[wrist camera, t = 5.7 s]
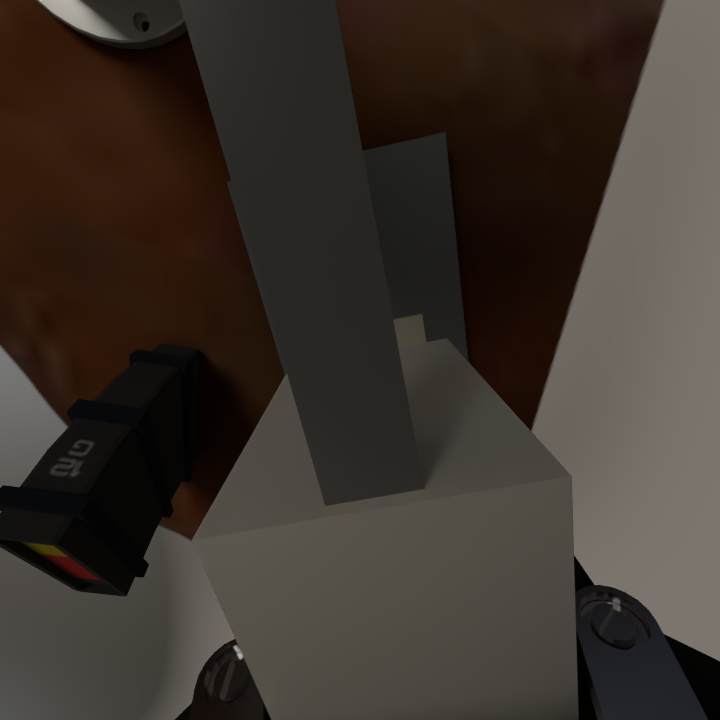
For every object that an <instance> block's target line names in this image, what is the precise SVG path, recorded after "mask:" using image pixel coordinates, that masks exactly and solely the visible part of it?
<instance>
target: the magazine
mask: <svg viewBox="0 0 720 720" xmlns="http://www.w3.org/2000/svg"><path fill="white" fill-rule="evenodd" d="M199 355H200V354H199V351H198V350H196V349H190V348H185V347H179V346H173V345H167V344H160V345H158V346H157V347H156V348H154V349H153V350H151V351H144V350H136V351H135V352H133V353H132V354H130V355H129V360H130V367H129V368H127V369H126V370H125V371H124V372H122V373H121V374H120V375H119V376H117V377H116V378H115V379H114V380H113V381H112V382H111V383H110V384H109V385H108V386H107V387H106V388H105V389H104V390H103V391H102V392H101V393H100V394H99V395H98V396H97V397H96V398H95V399H94V400H93V401H89V400H82V399H78V400H77V401H76V402H75V403H74V404H73V405H72V406H71V407H70V408H69V410H68V411H67V414H68V416H69V418H70V420H71V421H72V424H71V425H70V426H69V427H68V428H67V429H66V431H65V432H64V433H63V434H62V435H61V436H60V437H59V438H58V439H57V440H56V442H54V444H53V445H52V446H51V447H50V448H49V449H48V450H47V452H46V453H45V454H44V455H43V457H42V458H41V460H40V461H39V462H38V464H37V465H36V466H35V468H34V469H33V470H32V472H31V473H30V474H29V475H28V477H27V478H26V480H25V481H24V482H23V484H22V485H21V486H20V487H12V486H2V487H1V488H0V511H2V512H1V513H0V547H1V548H3V549H5V550H6V551H8V552H10V553H12V554H13V555H15V556H17V557H18V558H20V559H22V560H24V561H25V562H27V563H29V564H31V565H32V566H34V567H36V568H38V569H39V570H41V571H43V572H44V573H46V574H48V575H50V576H51V577H53V578H55V579H57V580H58V581H60V582H62V583H63V584H65V585H67V586H69V587H70V588H72V589H74V590H76V591H81V592H89V593H99V594H107V595H117V596H127V594H128V592H129V589H130V587H131V585H132V582H133V580H134V578H135V577H144V575H145V573H146V570H147V568H148V566H149V564H148V563H147V562H146V561H145V560H144V558H143V557H144V555H145V553H146V550H147V548H148V546H149V544H150V541H151V539H152V537H153V534H154V532H155V530H156V528H157V526H158V524H159V522H160V520H161V518H162V517H167V518H170V517H171V515H172V513H173V508H172V504H171V499H172V497H173V496H174V494H175V492H176V490H177V488H178V487H179V485H180V483H181V482H182V481H185V482H189V481H190V480H191V478H192V464H193V463H194V461H195V441H196V419H197V398H198V376H199Z"/></svg>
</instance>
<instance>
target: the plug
mask: <svg viewBox="0 0 720 720" xmlns="http://www.w3.org/2000/svg"><path fill="white" fill-rule="evenodd" d="M179 2H180V5H181V9H182V12H183V16H184V19H185V23H186V26H187V30H188V33H189V36H190V40H191V43H192V47H193V50H194V54H195V57H196V61H197V64H198V68H199V71H200V75H201V78H202V81H203V85H204V88H205V92H206V95H207V99H208V102H209V106H210V109H211V113H212V116H213V119H214V123H215V126H216V130H217V133H218V137H219V140H220V144H221V147H222V151H223V154H224V158H225V161H226V164H227V168H228V171H229V175H230V178H231V182H232V185H233V189H234V192H235V196H236V199H237V202H238V206H239V209H240V213H241V216H242V220H243V223H244V227H245V230H246V234H247V237H248V241H249V244H250V247H251V251H252V254H253V258H254V261H255V265H256V268H257V272H258V275H259V279H260V282H261V285H262V289H263V292H264V296H265V299H266V303H267V306H268V310H269V313H270V317H271V320H272V324H273V327H274V330H275V334H276V337H277V341H278V344H279V348H280V351H281V355H282V358H283V362H284V365H285V369H286V372H287V374H286V375H285V377H284V379H283V381H282V382H281V384H280V386H279V388H278V389H277V391H276V393H275V395H274V396H273V398H272V400H271V402H270V403H269V405H268V407H267V409H266V411H265V412H264V414H263V416H262V418H261V419H260V421H259V423H258V425H257V426H256V428H255V430H254V432H253V433H252V435H251V437H250V439H249V440H248V442H247V444H246V446H245V447H244V449H243V451H242V453H241V455H240V456H239V458H238V460H237V462H236V463H235V465H234V467H233V469H232V470H231V472H230V474H229V476H228V477H227V479H226V481H225V483H224V484H223V486H222V488H221V490H220V491H219V493H218V495H217V497H216V499H215V500H214V502H213V504H212V506H211V507H210V509H209V511H208V513H207V514H206V516H205V518H204V520H203V521H202V523H201V525H200V527H199V528H198V530H197V532H196V534H195V536H194V537H193V539H192V543H193V545H194V547H195V549H196V551H197V554H198V556H199V558H200V560H201V563H202V565H203V567H204V569H205V572H206V574H207V576H208V578H209V581H210V583H211V585H212V587H213V589H214V592H215V594H216V596H217V599H218V601H219V603H220V605H221V607H222V610H223V612H224V614H225V617H226V619H227V621H228V623H229V626H230V628H231V630H232V632H233V634H234V637H235V639H236V641H237V644H238V646H239V648H240V650H241V652H242V655H243V657H244V659H245V661H246V664H247V666H248V668H249V670H250V673H251V675H252V677H253V679H254V682H255V684H256V686H257V688H258V691H259V693H260V695H261V697H262V700H263V702H264V704H265V706H266V709H267V711H268V713H269V715H270V718H271V720H579V713H578V679H577V645H576V611H575V578H574V545H573V513H572V512H573V511H572V479H571V477H572V476H571V475H570V474H569V473H568V472H567V471H566V470H565V469H564V467H562V465H561V464H560V463H559V462H558V461H557V460H556V459H555V458H554V456H553V455H552V454H551V453H550V452H549V451H548V450H547V449H546V448H545V446H544V445H543V444H542V443H541V442H540V441H539V440H538V439H537V438H536V436H535V435H534V434H533V433H532V432H531V431H530V430H529V429H528V428H527V426H526V425H525V424H524V423H523V422H522V421H521V420H520V419H519V418H518V417H517V415H516V414H515V413H514V412H513V411H512V410H511V409H510V408H509V407H508V405H507V404H506V403H505V402H504V401H503V400H502V399H501V398H500V397H499V395H498V394H497V393H496V392H495V391H494V390H493V389H492V388H491V387H490V385H489V384H488V383H487V382H486V381H485V380H484V379H483V378H482V377H481V376H480V374H479V373H478V372H477V371H476V370H475V369H474V368H473V367H472V366H471V364H470V363H469V362H468V361H467V360H466V359H465V358H464V357H463V356H462V354H461V353H460V352H459V351H458V350H457V349H456V348H455V347H454V346H453V344H452V343H451V342H450V341H449V340H448V339H447V338H445V339H440V340H435V341H430V342H425V343H420V344H415V345H410V346H405V347H400V348H398V343H397V337H396V332H395V326H394V321H393V315H392V310H391V304H390V299H389V293H388V288H387V282H386V277H385V271H384V266H383V260H382V255H381V249H380V244H379V238H378V233H377V227H376V222H375V216H374V211H373V205H372V200H371V195H370V189H369V184H368V178H367V173H366V167H365V162H364V156H363V151H362V145H361V140H360V134H359V129H358V123H357V118H356V112H355V107H354V101H353V96H352V90H351V85H350V79H349V74H348V68H347V63H346V57H345V52H344V46H343V41H342V35H341V30H340V24H339V19H338V13H337V8H336V2H335V0H179Z"/></svg>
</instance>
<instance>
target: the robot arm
mask: <svg viewBox="0 0 720 720" xmlns="http://www.w3.org/2000/svg"><path fill="white" fill-rule="evenodd" d="M36 1H37V2H38V3H39V4H41V5H42V6H43V7H44V8H45V9H46V10H48V11H49V12H50V13H51V14H52V15H53V16H55V17H56V18H57V19H59V20H60V21H62V22H63V23H65V24H66V25H68V26H69V27H70V28H72V29H73V30H75V31H76V32H78V33H80V34H82V35H84V36H86V37H88V38H90V39H92V40H94V41H96V42H99V43H102V44H106V45H109V46H113V47H116V48H123V49H146V48H151V47H157V46H161V45H163V44H165V43H167V42H170V41H172V40H174V39H176V38H178V37H180V36H181V35H182V34H183V33H185V32H186V31H187V26H186V23H185V19H184V16H183V12H182V9H181V5H180V2H179V0H36ZM148 25H149V28H148V30H147V31H146V27H147V26H148ZM574 578H575V611H576V645H577V679H578V713H579V720H720V661H718V660H716V659H714V658H712V657H710V656H707V655H706V654H703V653H701V652H699V651H697V650H695V649H693V648H691V647H689V646H687V645H685V644H683V643H681V642H679V641H677V640H675V639H673V638H671V637H669V636H666V635H665V634H663V632H662V631H661V629H660V627H659V625H658V623H657V621H656V620H655V618H654V617H653V616H652V614H651V613H650V611H649V610H648V609H647V608H646V607H645V606H644V605H642V604H641V603H640V602H639V601H638V600H637V599H635V598H633V597H632V596H630V595H629V594H627V593H625V592H623V591H620V590H618V589H615V588H613V587H608V586H602V585H594V584H593V582H592V581H591V579H590V578H589V576H588V575H587V574H586V572H585V571H584V569H583V568H582V566H581V565H580V563H579V562H578V560H577V559H576V557H575V556H574ZM175 720H271V718H270V715H269V713H268V711H267V709H266V706H265V704H264V702H263V700H262V697H261V695H260V693H259V691H258V688H257V686H256V684H255V682H254V679H253V677H252V675H251V673H250V670H249V668H248V666H247V664H246V661H245V659H244V657H243V655H242V652H241V650H240V648H239V646H238V644H237V641H236V639H234V640H232V641H230V642H228V643H226V644H224V645H223V646H222V647H221V648H219V649H218V650H217V651H216V652H215V653H214V654H213V655H212V656H211V657H210V658H209V660H208V661H207V662H206V663H205V665H204V667H203V669H202V670H201V672H200V674H199V676H198V679H197V683H196V686H195V690H194V695H193V700H192V704H190V705H189V706H188V707H187V708H186V709H185V710H184V711H183V712H182V713H181V714H180V715H179V716H178V717H177V718H176V719H175Z"/></svg>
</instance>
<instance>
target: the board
mask: <svg viewBox="0 0 720 720" xmlns="http://www.w3.org/2000/svg"><path fill="white" fill-rule="evenodd" d="M363 156H364V162H365V167H366V173H367V178H368V184H369V189H370V195H371V200H372V205H373V211H374V216H375V222H376V227H377V233H378V238H379V244H380V249H381V255H382V260H383V266H384V271H385V277H386V282H387V288H388V293H389V299H390V304H391V310H392V315H393V321H394V326H395V332H396V337H397V343H398V348H400V347H405V346H410V345H415V344H420V343H425V342H430V341H435V340H440V339H445V338H447V339H448V340H449V341H450V342H451V343H452V344H453V346H454V347H455V348H456V349H457V350H458V351H459V352H460V353H461V354H462V356H463V357H464V358H465V359H466V360H467V361H468V352H467V342H466V332H465V322H464V312H463V302H462V292H461V282H460V272H459V262H458V252H457V243H456V233H455V223H454V213H453V203H452V193H451V183H450V173H449V163H448V153H447V143H446V133H445V132H444V133H439V134H435V135H430V136H426V137H422V138H417V139H413V140H408V141H404V142H399V143H395V144H391V145H386V146H382V147H377V148H373V149H369V150H364V151H363ZM227 185H228V188H229V192H230V195H231V198H232V201H233V205H234V208H235V211H236V215H237V218H238V221H239V225H240V228H241V231H242V235H243V238H244V241H245V245H246V248H247V251H248V254H249V258H250V261H251V264H252V268H253V271H254V274H255V278H256V281H257V284H258V288H259V291H260V294H261V298H262V301H263V304H264V307H265V311H266V314H267V317H268V321H269V324H270V327H271V331H272V334H273V337H274V341H275V344H276V347H277V351H278V354H279V357H280V360H281V364H282V367H283V370H284V374H285V375H286V374H287V372H286V369H285V365H284V362H283V358H282V355H281V351H280V348H279V344H278V341H277V337H276V334H275V330H274V327H273V324H272V320H271V317H270V313H269V310H268V306H267V303H266V299H265V296H264V292H263V289H262V285H261V282H260V279H259V275H258V272H257V268H256V265H255V261H254V258H253V254H252V251H251V247H250V244H249V241H248V237H247V234H246V230H245V227H244V223H243V220H242V216H241V213H240V209H239V206H238V202H237V199H236V196H235V192H234V189H233V185H232V182H231V181H227Z"/></svg>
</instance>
